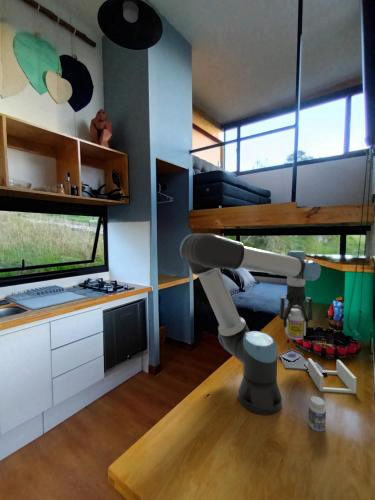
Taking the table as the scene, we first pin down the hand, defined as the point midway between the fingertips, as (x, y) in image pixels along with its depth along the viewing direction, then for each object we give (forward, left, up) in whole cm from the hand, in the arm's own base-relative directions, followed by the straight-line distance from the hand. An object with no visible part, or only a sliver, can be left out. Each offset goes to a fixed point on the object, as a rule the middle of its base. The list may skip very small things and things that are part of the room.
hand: (295, 333), depth 111 cm
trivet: (0, 0, -14) cm, 14 cm away
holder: (+10, -13, -14) cm, 22 cm away
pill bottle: (-4, -37, -14) cm, 40 cm away
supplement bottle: (0, 0, -2) cm, 2 cm away
